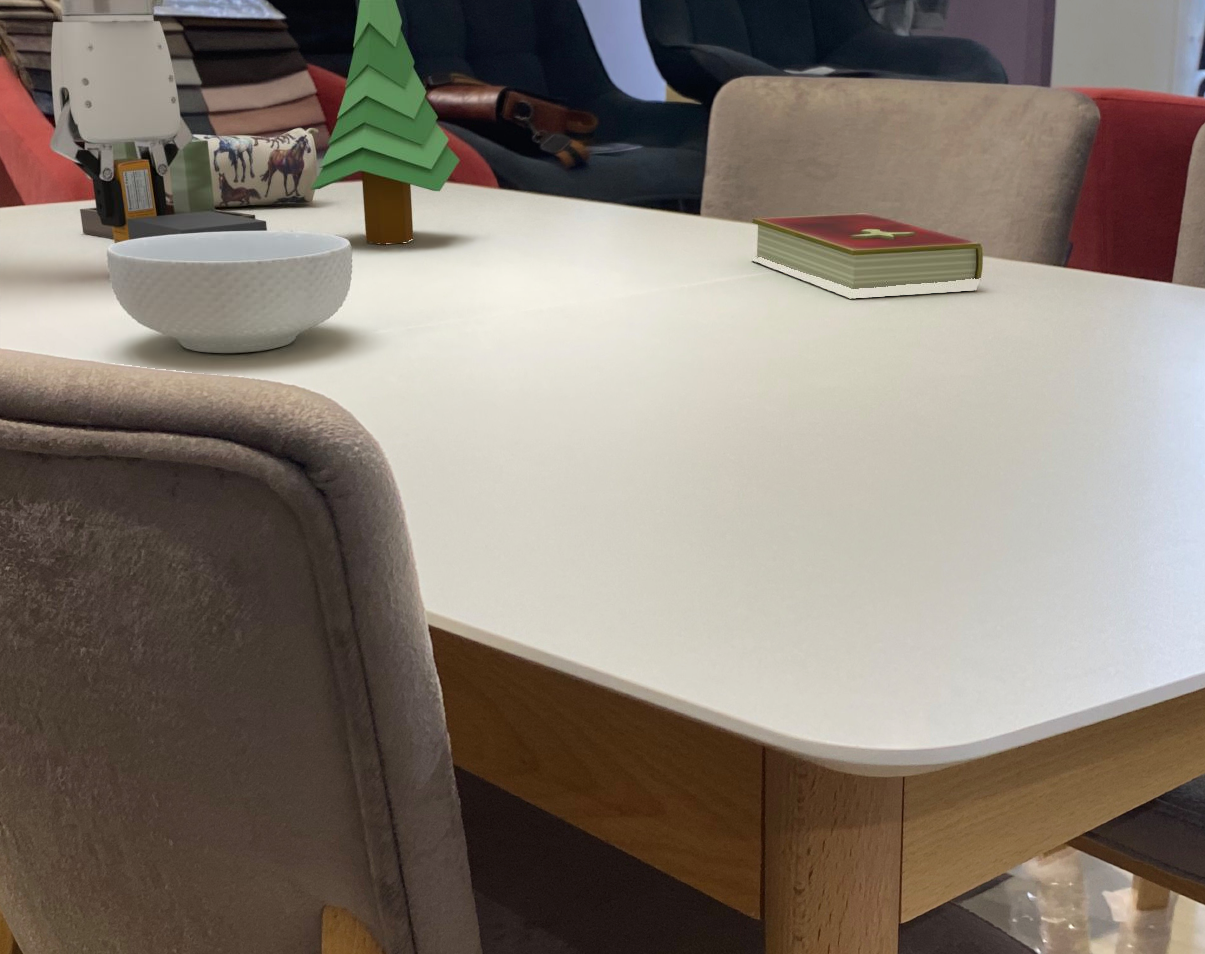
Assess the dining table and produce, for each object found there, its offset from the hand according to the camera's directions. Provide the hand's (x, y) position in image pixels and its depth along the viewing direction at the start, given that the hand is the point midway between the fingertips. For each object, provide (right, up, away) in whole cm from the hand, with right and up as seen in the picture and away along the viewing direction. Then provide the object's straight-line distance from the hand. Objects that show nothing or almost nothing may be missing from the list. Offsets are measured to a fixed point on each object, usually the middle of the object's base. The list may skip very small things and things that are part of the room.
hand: (133, 221), depth 131 cm
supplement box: (0, -4, +2) cm, 5 cm away
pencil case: (-3, +14, +48) cm, 50 cm away
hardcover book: (+65, -6, -2) cm, 66 cm away
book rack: (-4, +5, +24) cm, 25 cm away
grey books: (+7, -6, -3) cm, 10 cm away
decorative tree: (+20, +3, +20) cm, 28 cm away
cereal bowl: (+16, -16, -27) cm, 35 cm away
